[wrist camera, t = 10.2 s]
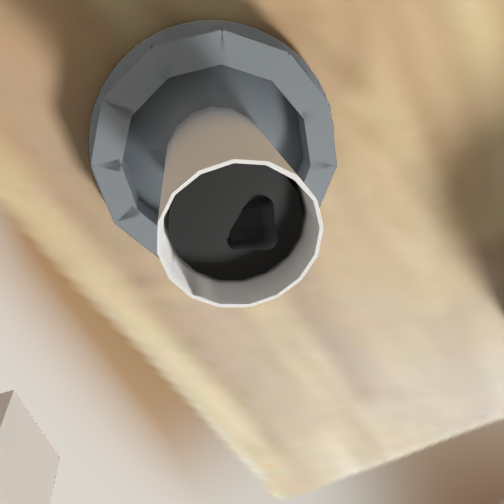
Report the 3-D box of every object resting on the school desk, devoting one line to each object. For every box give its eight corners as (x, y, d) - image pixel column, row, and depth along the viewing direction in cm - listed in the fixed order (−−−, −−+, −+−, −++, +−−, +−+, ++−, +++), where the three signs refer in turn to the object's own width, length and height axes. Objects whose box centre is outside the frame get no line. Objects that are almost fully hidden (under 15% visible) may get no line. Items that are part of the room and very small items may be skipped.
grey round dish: (47, 55, 24) (37, 63, 22) (313, -10, 24) (327, -9, 22) (138, 277, 31) (136, 298, 29) (341, 224, 32) (353, 241, 30)
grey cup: (270, 91, 26) (323, 147, 17) (276, 202, 29) (323, 294, 21) (147, 105, 25) (139, 171, 17) (169, 217, 29) (171, 320, 20)
